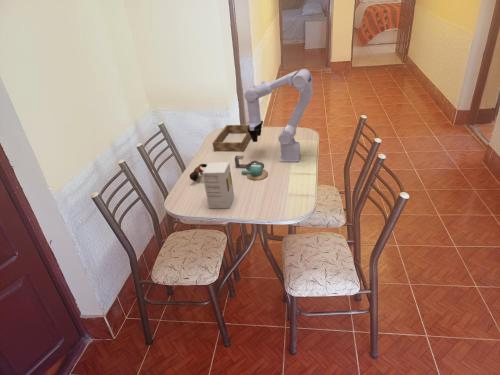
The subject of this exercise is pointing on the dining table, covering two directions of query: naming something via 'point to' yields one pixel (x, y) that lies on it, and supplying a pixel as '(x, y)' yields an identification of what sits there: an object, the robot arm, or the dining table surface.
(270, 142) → the dining table surface
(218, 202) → the supplement box
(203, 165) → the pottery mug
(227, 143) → the tray
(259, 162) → the dark grey handled bowl
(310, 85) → the robot arm
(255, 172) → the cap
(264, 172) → the coaster
